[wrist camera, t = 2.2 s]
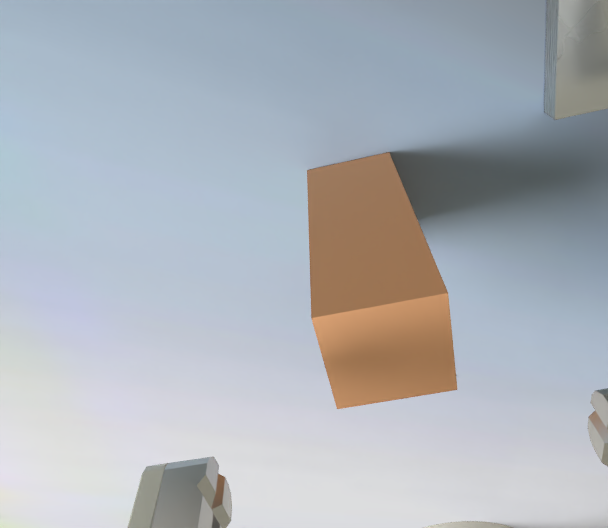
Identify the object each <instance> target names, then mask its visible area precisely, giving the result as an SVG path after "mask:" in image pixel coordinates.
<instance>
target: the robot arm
mask: <svg viewBox="0 0 608 528" xmlns="http://www.w3.org/2000/svg"><path fill="white" fill-rule="evenodd" d="M591 404H592V406H593V408H594V409H595V411H594V412H593V413H592V414H591V415H590V416H589V418H588V431H589V436H590V441H591V443H592V445H593V448H594V450H595V452H596V454H597V455H598V457H599V459H600V461H601V462H602V463H603V464H605V465H607V466H608V388H607V389H601V390H596V391H594V393H593V394H592V397H591ZM218 469H219V465H218V463H217V461H216V459H215V458H214V457H207V458H200V459H193V460H187V461H180V462H173V463H166V464H160V465H154V466H148V467H146V469H145V470H144V472H143V473H142V475H141V479H140V483H139V487H138V491H137V494H136V498H135V502H134V506H133V509H132V513H131V517H130V521H129V525H128V528H226V527H227V526H228V524H229V523H230V521H231V514H232V501H231V492H230V488H229V484H228V482H227V480H226V478H225V477H224V476H222V475H220V474H218ZM424 528H512V527H509V526H505V525H501V524H496V523H489V522H478V521H462V522H450V523H442V524H436V525H432V526H427V527H424Z"/></svg>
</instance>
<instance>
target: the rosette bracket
mask: <svg viewBox="0 0 608 528" xmlns="http://www.w3.org/2000/svg"><path fill="white" fill-rule="evenodd" d="M607 108H608V0H547V13H546V55H545V96H544V113H546V114H547V115H548V116H550V117H551V118H553V119H554V120H557V119H561V118H566V117H570V116H575V115H580V114H584V113H589V112H593V111H598V110H603V109H607Z"/></svg>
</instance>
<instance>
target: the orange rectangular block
mask: <svg viewBox="0 0 608 528" xmlns="http://www.w3.org/2000/svg"><path fill="white" fill-rule="evenodd" d="M307 183H308V216H309V250H310V284H311V318H312V322H313V325H314V329H315V332H316V336H317V339H318V343H319V346H320V350H321V353H322V357H323V361H324V364H325V368H326V371H327V375H328V378H329V382H330V385H331V389H332V392H333V396H334V399H335V403H336V406H337V409H341V408H347V407H353V406H360V405H366V404H372V403H378V402H384V401H390V400H397V399H403V398H409V397H415V396H421V395H427V394H434V393H440V392H446V391H452V390H457V382H456V371H455V361H454V350H453V340H452V329H451V319H450V309H449V298H448V292H447V289H446V287H445V285H444V282H443V280H442V277H441V275H440V273H439V270H438V268H437V265H436V263H435V261H434V258H433V256H432V254H431V251H430V249H429V246H428V244H427V242H426V239H425V237H424V234H423V232H422V230H421V227H420V225H419V222H418V220H417V218H416V215H415V213H414V210H413V208H412V206H411V203H410V201H409V198H408V196H407V194H406V191H405V189H404V187H403V184H402V182H401V179H400V177H399V175H398V172H397V170H396V167H395V165H394V163H393V160H392V158H391V155H390V153H389V152H388V153H383V154H379V155H374V156H370V157H365V158H361V159H356V160H351V161H347V162H342V163H338V164H333V165H329V166H324V167H319V168H315V169H310V170H307Z"/></svg>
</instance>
